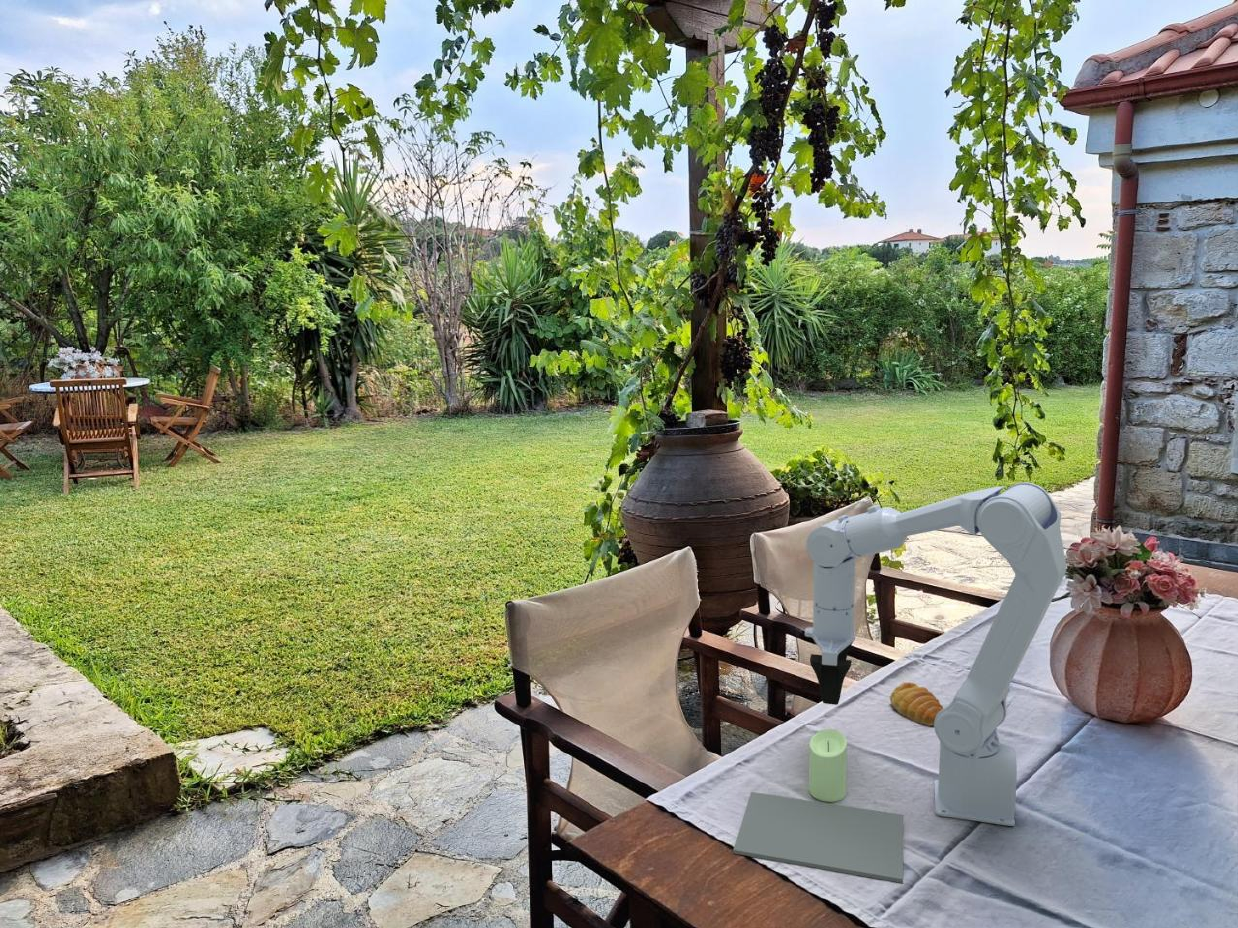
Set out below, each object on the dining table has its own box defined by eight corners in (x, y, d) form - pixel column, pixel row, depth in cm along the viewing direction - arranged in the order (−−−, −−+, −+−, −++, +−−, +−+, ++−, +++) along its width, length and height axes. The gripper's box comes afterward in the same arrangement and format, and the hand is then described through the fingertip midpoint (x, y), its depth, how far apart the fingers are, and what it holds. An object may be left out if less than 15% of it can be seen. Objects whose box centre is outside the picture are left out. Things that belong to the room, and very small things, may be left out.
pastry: (956, 723, 136) (957, 701, 135) (921, 732, 134) (921, 709, 133) (918, 698, 144) (919, 677, 144) (884, 705, 142) (885, 684, 142)
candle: (837, 806, 115) (838, 750, 113) (803, 794, 118) (803, 740, 116) (851, 788, 119) (853, 734, 117) (818, 777, 122) (818, 724, 120)
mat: (903, 817, 112) (903, 814, 112) (902, 882, 100) (902, 879, 100) (751, 794, 118) (751, 791, 118) (733, 853, 106) (733, 849, 106)
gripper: (810, 584, 131) (809, 667, 133) (799, 619, 117) (799, 710, 120) (858, 587, 129) (856, 672, 131) (853, 623, 115) (851, 716, 118)
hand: (832, 691), depth 125 cm, fingers open, 7 cm apart
